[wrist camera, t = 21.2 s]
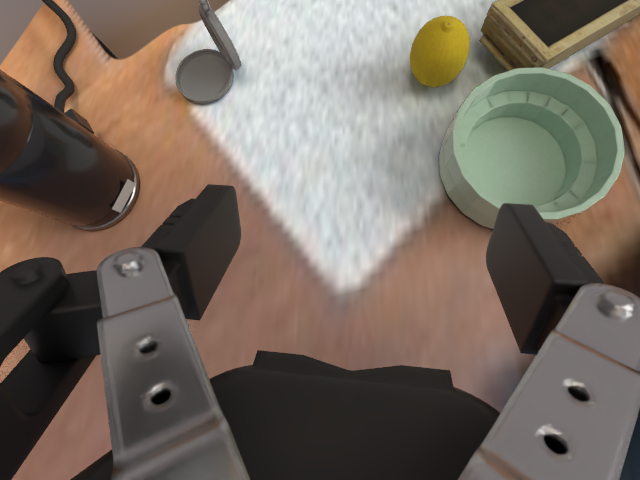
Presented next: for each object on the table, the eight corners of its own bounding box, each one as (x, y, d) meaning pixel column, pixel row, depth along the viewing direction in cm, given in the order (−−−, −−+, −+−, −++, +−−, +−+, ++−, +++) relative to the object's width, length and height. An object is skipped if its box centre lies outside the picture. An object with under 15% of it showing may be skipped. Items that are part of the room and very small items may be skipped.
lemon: (406, 102, 41) (418, 52, 33) (404, 57, 42) (415, -1, 34) (458, 100, 41) (483, 49, 33) (454, 54, 42) (478, -6, 34)
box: (465, 45, 40) (488, 4, 35) (604, -36, 45) (640, -82, 40) (517, 101, 39) (549, 66, 34) (655, 11, 43) (700, -31, 39)
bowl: (410, 153, 40) (420, 125, 34) (517, 79, 41) (545, 39, 35) (499, 262, 37) (527, 252, 31) (613, 180, 38) (661, 155, 32)
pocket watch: (169, 94, 44) (116, 30, 34) (202, 35, 45) (161, -43, 35) (230, 118, 42) (194, 59, 33) (263, 57, 44) (237, -18, 34)
